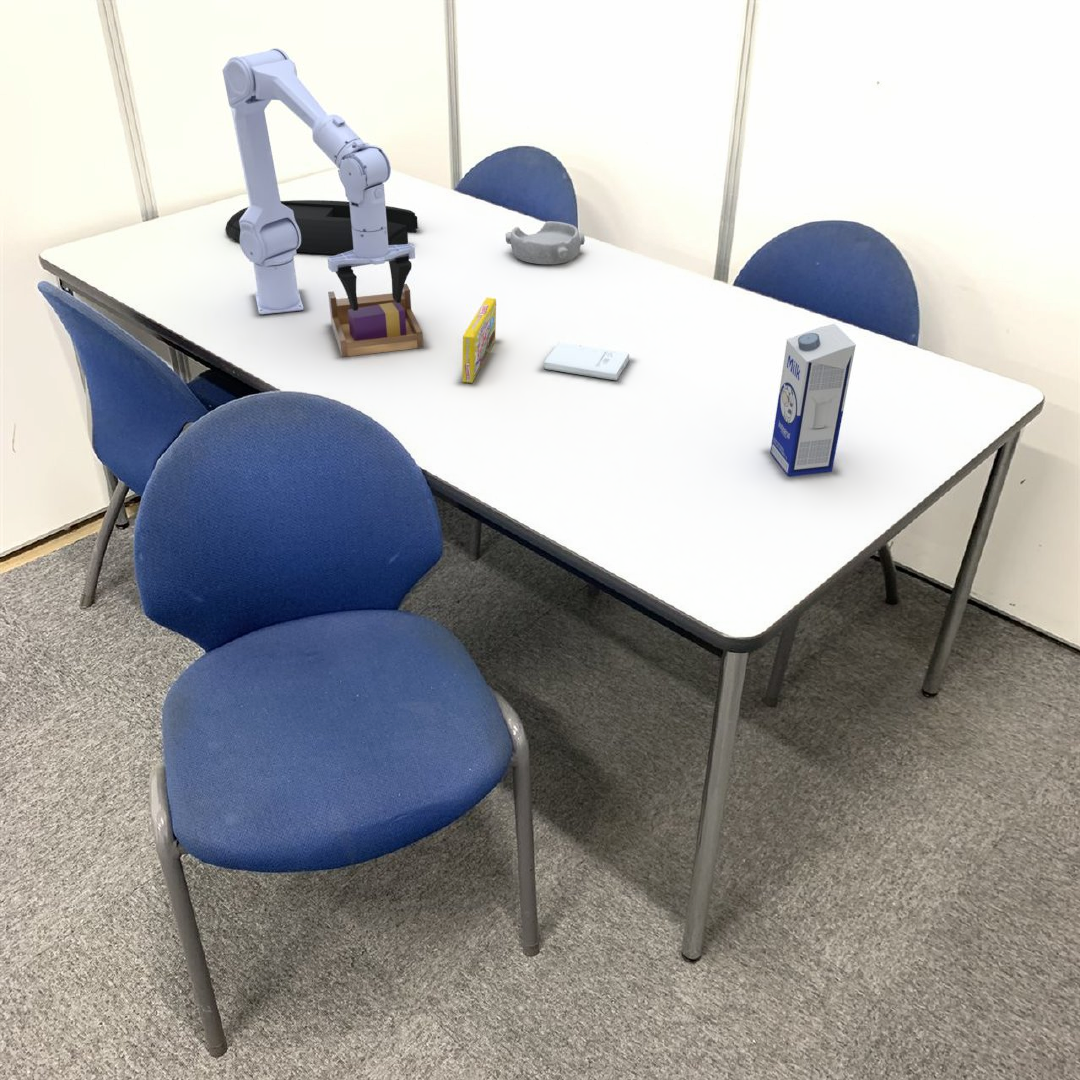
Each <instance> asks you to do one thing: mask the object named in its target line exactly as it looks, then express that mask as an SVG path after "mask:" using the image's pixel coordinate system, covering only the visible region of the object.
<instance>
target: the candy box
mask: <svg viewBox="0 0 1080 1080" xmlns="http://www.w3.org/2000/svg"><path fill="white" fill-rule="evenodd" d="M496 325H497V299H496V298H493V297H486V298H485V300H484V301H483V302H482V304H481V305H480V307H479V309H478V310H477V312H476V314H475V316H474V317H473V319H472V321H471V322H470V324H469V326H467V329H466V330H465V332H464V333H463V335H462V379H461V380H462V383H466V384H467V383H468V384H469V383H470V384H472V383H473V382H474V381H475V379H476V377H477V375H478V374H479V371H480V370H481V368H482V366H483V364H484V363H485V361H486V359H487V357H488V355H489V353H490V352H491V350H492V348H493V346H494V345H495V343H496V334H497V333H496V332H497V331H496V330H497V327H496Z"/></svg>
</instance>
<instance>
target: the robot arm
mask: <svg viewBox="0 0 1080 1080" xmlns="http://www.w3.org/2000/svg"><path fill="white" fill-rule="evenodd" d="M221 71H222V76H223V80H224V85H225V91H226V96H227V101H228V105H229V106H228V107H230V111H231V117H232V121H233V127H234V131H235V136H236V142H237V147H238V152H239V157H240V162H241V167H242V168H241V169H242V172H243V178H244V183H245V187H246V188H245V189H246V194H247V198H248V203H249V206H247V207H248V209H247V210H246V212H245V213H244V214H243V216H242V217H241V219H240V220H239V223H240V230H241V232H240V241H239V245H240V249H241V251H242V253H243V256H245V257H246V258H247V259H248V260H249V262H251V263H252V264H253V270H254V277H255V283H256V290H257V292H256V293H254V295H255V300H256V307H257V310H258V314H259V315H269V314H279V313H280V314H281V313H289V312H296V311H297V312H298V311H303V310H304V305H303V301H302V298H301V295H300V290H299V288H298V281H297V272H296V265H295V257H296V256H298V255H297V252H296V249H298V248H299V246H300V244H301V233H300V229H299V227H298V225H297V223H296V221H295V218H294V213H293V211H292V210H291V209H290V208H288V207H287V206H285V205H283V204H282V203H281V201H282V200H281V197H280V196H281V195H280V191H279V185H278V184H279V183H278V180H277V174H276V168H275V163H274V158H273V157H274V156H273V151H272V146H271V140H270V135H269V130H268V129H269V128H268V125H267V118H266V113H265V109H266V108H267V107H268V105H269V104H270V103H271V101H280V102H281V103H282V104H283V105H284V106H285V107H286V108H287V109H289V110H290V111H291V112H292V113H293V114H294V115H295V116H296V117H297V118H299V119H300V120H301V121H302V122H303V123H304V124H305V125H306V126H307V127H309V129H310V130H311V131H312V132H311V133H312V134H311V135H312V136H311V137H312V142H314V144H315V145H316V147H318V148H319V149H320V150H321V151H322V152H323V153H324V155H325V156H326V157H327V158H328V159H329V160H330V161H331V162H332V164H334V166H336V168H337V174H338V178H339V180H340V182H341V184H342V186H343V188H344V193H345V197H346V199H347V202H349V204H350V215H351V225H352V237H353V247H354V250H351V251H348V252H345V253H342V254H334V255H332V256H331V255H330V256H327V267H328V270H329V271H330V272H331V273H335V274H336V276H337V277H338V280H339V281H340V283H341V284H342V287H343V289H344V291H345V293H346V296H347V298H348V299H349V303H350V307H351V308H352V309H353V310H354V311H356V310H358V302H357V297H358V296H357V295H358V294H357V279H358V278H357V277H358V276H357V275H356V274H355V273H354V269H352V268H356V267H363V266H369V265H374V266H375V265H377V266H378V265H383V264H385V263H387V262H388V264H389V265H388V266H389V270H390V271H389V272H390V277H391V293H392V295H393V299H394V300H395V301H396V302H397V303H400V302H401V297H402V292H403V287H404V284H406V281H407V278H408V276H409V274H410V272H411V270H412V262H411V261H410V260H413V259H414V260H415V259H416V250H415V246H413V244H411V243H408V244H404V245H388V235H387V220H386V206H387V205H386V193H385V184H384V183H386V182H388V180H389V179H390V177H391V172H392V169H391V168H392V167H391V163H390V160H389V157H388V156H387V154H386V153H385V151H384V150H383V148H381V147H380V146H378V145H371V144H370V143H369V142H364V140H362V139H361V137H359V136H358V134H356V132H355V131H354V130H353V129H352V128H351V127H350V126H349V125H348V124H347V123H346V121H345V119H344V118H343V117H342V116H340V115H338V114H328V113H327V112H326V111H325V110H324V108H323V107H322V106H321V104H320V103H319V102H318V101H317V99H315V97H314V96H313V95H312V93H311V92H310V91H309V90H308V88H307V87H306V85H304V83H303V82H302V81H301V80H300V79H299V77H298V71H297V65H296V63H295V61H293V60H292V59H291V58H290V57H289V55H288V54H287V52H285V51H284V50H283V49H281V48H278V47H275V48H271V49H270V50H265V51H259V52H256V53H251V54H246V55H242V56H233V57H230V58H229V60H228V61H227V62H226V63H225V65H224V67H223V69H222V70H221Z"/></svg>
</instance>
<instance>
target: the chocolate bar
mask: <svg viewBox="0 0 1080 1080" xmlns="http://www.w3.org/2000/svg"><path fill="white" fill-rule="evenodd" d="M348 319H349V329H350V334H351V336H352V338H353V339H354V341H358V340H367V339H376V338H385V337H393V336H401V335H406V334H407V332H406V318H405V310H404V308H403V307H402V306H401V305H400V303H397V302H393V303H386V304H379V305H374V306H367V307H361V308H358V310H356V311H354V310H353V309H348Z"/></svg>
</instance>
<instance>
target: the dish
mask: <svg viewBox="0 0 1080 1080" xmlns="http://www.w3.org/2000/svg"><path fill="white" fill-rule="evenodd" d="M505 241H506V244H508V245H510V247H511V251H512V254H513V256H514V257H515V258H516V259H518V260H520V261H523V262H526V263H529V264H530V263H531V264H537V265H559V264H564V263H567V262H571V261H572V260H574V259H575V258H577V257H578V256H579V254H580V251H581V246H583V245H584V244H585V242H586V240H585V234H584V233H583V232H581V233H580V232H579V229H578V228H577V227H576V226H575V225H574V224H571V223H566V222H562V221H551V220H548V221H546V222H545V223H544V224H543V225H542V227H541V228H540V230H539V231H537V232H535V233H533V234H527V233H525V232H524V231H523V230H521V228H520V227H518V226H516V227H514V228H513V229H512V230H511V231H508V232H506V233H505Z"/></svg>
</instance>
